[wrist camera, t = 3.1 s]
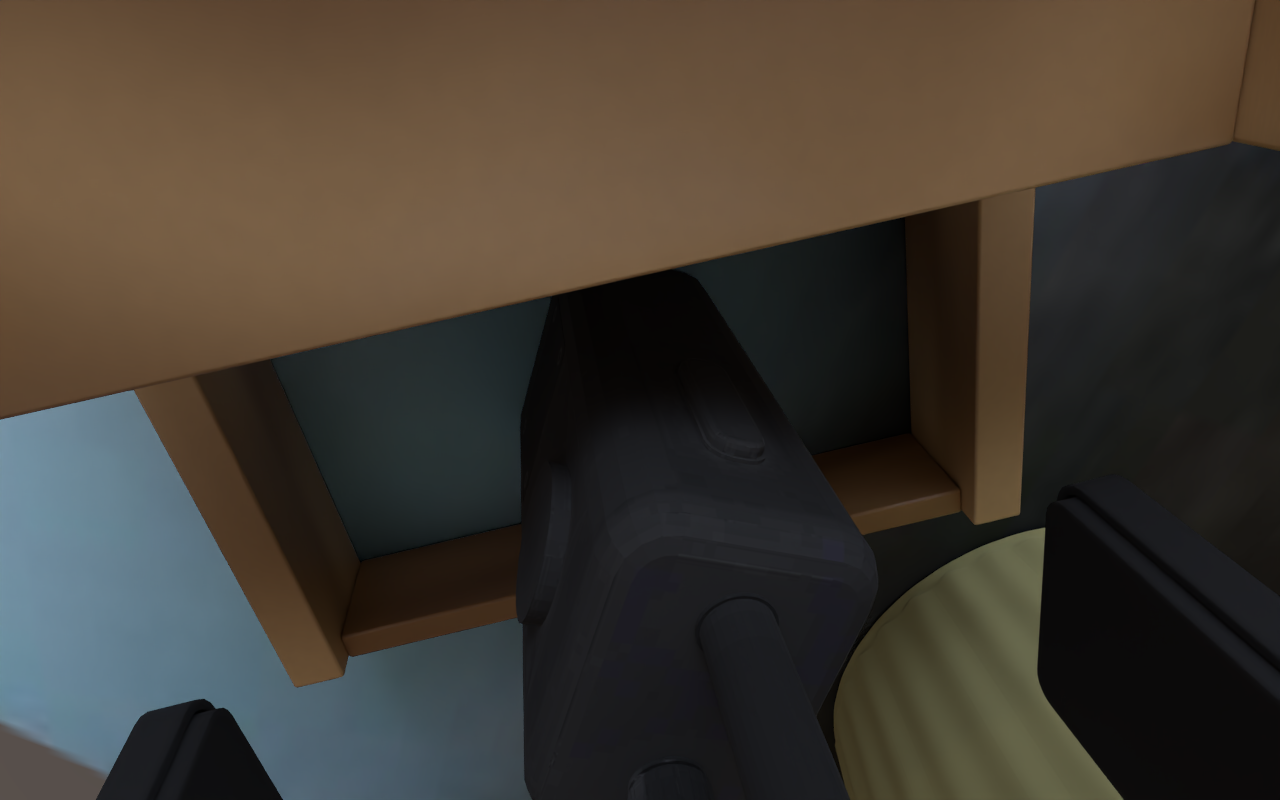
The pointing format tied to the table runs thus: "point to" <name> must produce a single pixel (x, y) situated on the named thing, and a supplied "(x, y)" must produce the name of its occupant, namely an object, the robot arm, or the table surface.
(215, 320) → the step shelf
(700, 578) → the walkie-talkie
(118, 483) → the table surface
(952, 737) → the potted cactus
